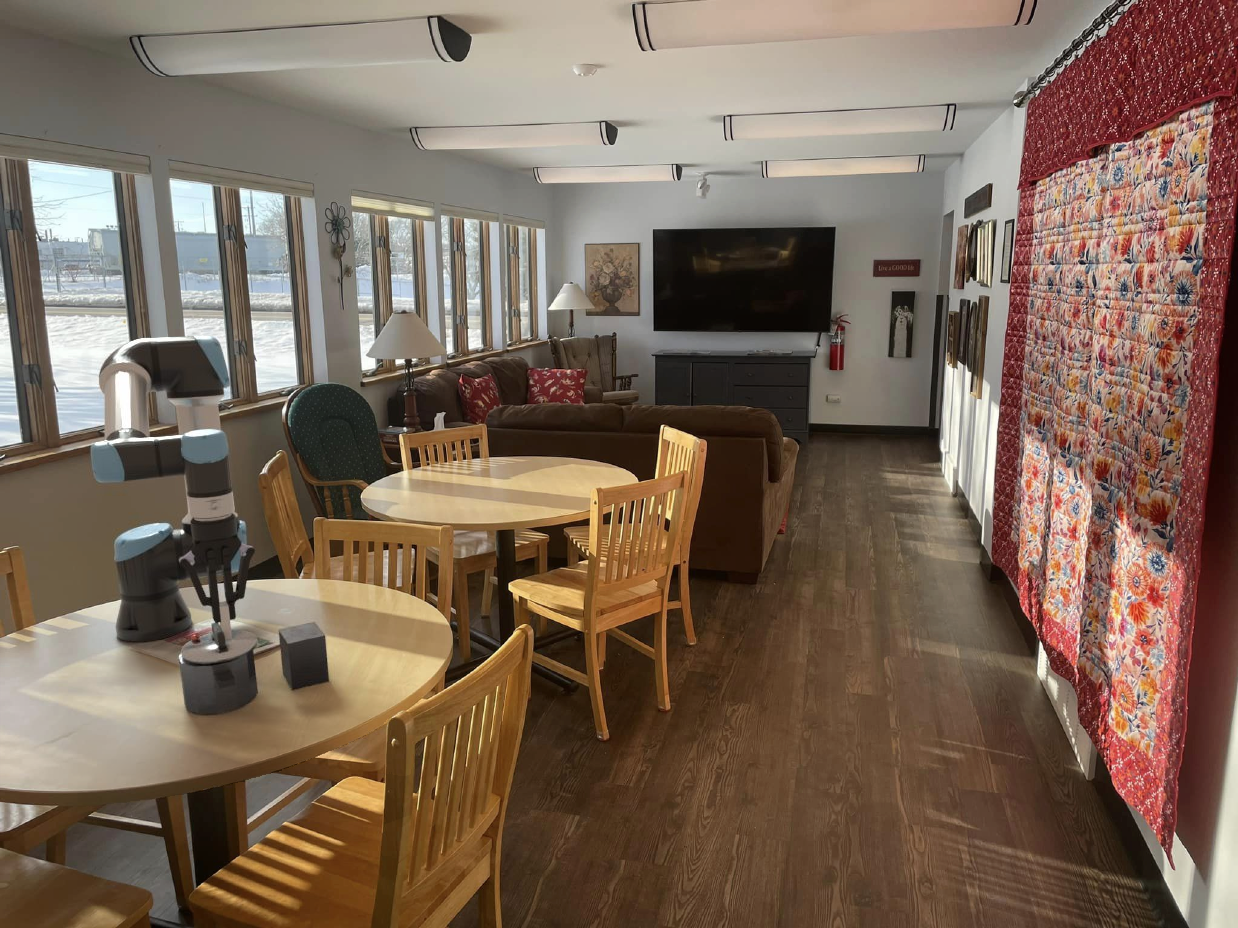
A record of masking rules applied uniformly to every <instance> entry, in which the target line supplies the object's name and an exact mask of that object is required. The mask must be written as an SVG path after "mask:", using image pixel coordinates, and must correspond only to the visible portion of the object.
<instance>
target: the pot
mask: <svg viewBox="0 0 1238 928" xmlns="http://www.w3.org/2000/svg"><path fill="white" fill-rule="evenodd" d="M254 651H255V649H254V650H252V651H251V652H250V653H248V654H246V655H244V656H242V657H239V658H236V659H233V660H230V661H226V662H220V663H213V664H196V663H191V662H187V661H185V660H184V659H183V658H182V654H181V653H180V654H179V655H178V662H179V664H178V665H179V671H180V679H181V685H182V686H181V688H182V694H183V701H184V705H185V709H186V711H188V712H189V713H191V714H195V715H200V716H212V715H213V716H214V715H221V714H226V713H229V712H233V711H236V710H238V709H241V708H244V707H245V706H247V705H249V704H250V703H251V702H253V701H254V699H255V698H256V697H257V695H258V693H259V690H258V680H257V671H256V662H255V652H254Z"/></svg>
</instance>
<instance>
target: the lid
mask: <svg viewBox="0 0 1238 928" xmlns="http://www.w3.org/2000/svg"><path fill="white" fill-rule="evenodd" d="M211 631H212V632H209V633H205V634H203V635H200V633H193V634H191V635H190V640H189V641H188V642H186V643H184V645H183V646H182V647H181V649H180V654H182V658H183V659H184V660H185V661H187V662H191V663H196V664H213V663H220V662H226V661H230V660H233V659H236V658H239V657H242V656H244V655H246V654H248V653H250V652H251V651H252V650H254V651H255V649H256V647H257V646H258V637H257V635H256V634H255V633H254V632H251V631H248V630H241V629H240V630H239V629H231V633H232V638H231V639H226V640H225V635H224V633H223V631H222V629H221V627H220V622H219V623H215V622H212V623H211Z"/></svg>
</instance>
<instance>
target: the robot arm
mask: <svg viewBox="0 0 1238 928" xmlns="http://www.w3.org/2000/svg"><path fill="white" fill-rule="evenodd" d="M98 385H99V388H100V391H101V392H102V393H103V394H104V440H102V441H98V442H97V441H96V442H94V443H92V444H91V446H90V460H91V467H92V468H91V469H92V473H93V477H94V479H95V480H96V482H98V483H103V484H104V483H123V482H131V481H139V480H149V479H159V478H169V477H177V476H183V478H184V485H185V486H184V487H185V494H186V503H187V514H186V515H185V516H184V517H183V518H182V520H181V523H182V525H181V526H182V527H181V528H177V529H173V526H172V525H171V524H170V523H168V522H161V523H159V522H155V523H150V524H144V525H141V526H138V527H134V528H131V529H129V530H126V531H125V532H123V533H121V534H120V535H119V536H117V537H116V539H115V540H114V545H113V546H114V547H113V549H114V558H113V559H114V562H115V563H116V571H117V578H118V587H119V593H120V605H119V609H118V615H117V618H116V622H115V630H116V637H117V638H118V639H119V640H122V641H124V642H131V643H132V642H135V643H138V642H139V643H140V642H149V641H150V642H152V641H157V640H162V639H165V638H169V637H173V636H175V635H178V634H180V633H182V632H184V631H186V630H187V629H189V628H190V627H191V625H192V623H193V620H192V613H191V611H190V608H189V607H188V605H187V603H186V601H185V599H184V597H183V595H182V593H181V592H180V591H181V590H180V587H179V586H180V585H179V582H180V581H181V582H182V581H188V580H191V583H192V586H193V587H194V590H195V592H196V594H197V597H198V599H199V602H200V605H202V606H203V607H206V606H209V607H210V608H211V615H212V620H213V623H219V625H220V627H221V629H222V631H223V633H224V635H225V640H226V639H231V638H232V633H231V630H232V625H231V621H232V620H236V616H237V614H236V606H235V605H236V602H237V601H239V600H242V599H244V598H245V594H246V590H247V584H248V583H247V582H248V576H249V569H250V564H251V560H252V558H253V556H254V554H255V553H256V550H255V548H254V547H253V545H252V544H247V525H246V522H245V521H244V520H241V519H240V520H239V516H238V515H239V514H238V513H237V512H236V509H235V501H234V500H235V499H234V493H233V486H232V485H233V483H232V473H231V463H230V453H229V452H230V447H229V443H228V438H227V435H226V433H225V432H224V431H223V430H222V427H221V419H220V412H219V411H220V410H219V403H220V401H222V399H223V398H224V397H225V389H227V388H229V387H231V380H230V376H229V371H228V367H227V363H226V359H225V356H224V351H223V349H222V346H221V342H220V341H219V340H218V338H216V337H214V336H210V335H206V336H205V335H191V336H189V335H187V336H170V337H169V336H168V337H166V336H165V337H151V338H150V337H145V338H144V337H143V338H138V339H134V340H131V341H129V342H126V343H125V344H122V345H121V346H120V347H117V349H115V350H114V351H113V352H112V353H110V354H109V355H108V356H107V358H106V359H105V360H104V362H103V363H102V366H101V367H100V369H99V374H98ZM152 392H155V393H156V392H157V393H159V392H165V393H166V400H167V401H169V402H170V403H171V404H173V405H174V407H175V411H176V412H175V413H176V420H177V421H176V422H177V426H178V427H177V429H178V434H177V435H166V436H164V435H163V436H154V437H153V436H152V437H151V436H150V433H151V431H150V423H149V422H150V421H149V408H148V406H149V405H148V394H149V393H152ZM234 573H237V578H236V585H235V590H234V585H233V575H232V574H234ZM220 575H221V576H222V579H223V580H222V581H223V588H224V590H223V591H224V598H225V601H224V600H223V601H220V597H219V589H218V588H219V585H218V580H217V579H218V577H217V576H220ZM201 578H207V582H208V590H209V596H207V595H206V592H205V590H204V588H203V585H202V582H201V580H200V579H201Z"/></svg>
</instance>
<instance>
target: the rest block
mask: <svg viewBox="0 0 1238 928" xmlns="http://www.w3.org/2000/svg"><path fill="white" fill-rule="evenodd" d="M278 637H279V639H278V640H279V649H280V658H281V659H280V660H281V669H282V676H283V677H284V679H285V681H286V683H287V684H288V686H289V687H290V689H291V691H296V690H300V689H305V688H308V687H312V686H316V685H320V684H324V683H328V682H330V676H329V675H330V674H329V662H328V652H327V641H326V640H327V639H326V635H325V633H324V632H323V630H322V629H321V628H320V626H319V625H318V624H317V622H315V621H313V622H307V623H302V624H297V625H294V626H287V627H283V628H279V629H278Z"/></svg>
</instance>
